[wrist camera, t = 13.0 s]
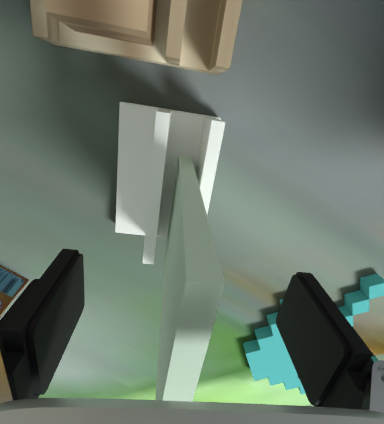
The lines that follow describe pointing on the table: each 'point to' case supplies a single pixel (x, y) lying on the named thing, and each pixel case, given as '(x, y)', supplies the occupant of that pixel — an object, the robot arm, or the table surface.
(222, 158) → the table surface
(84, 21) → the offcut upper
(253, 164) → the table surface
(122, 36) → the offcut lower
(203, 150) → the stand
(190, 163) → the sheet
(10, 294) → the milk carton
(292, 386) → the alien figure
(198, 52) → the rack
